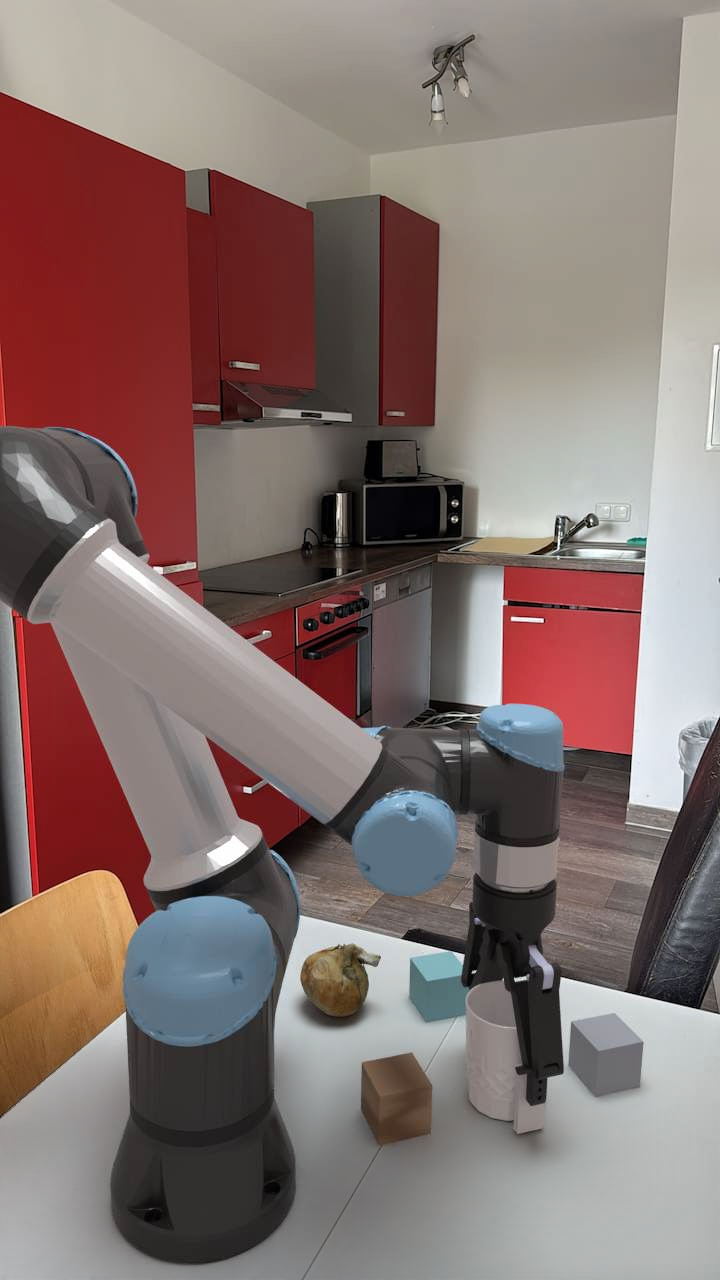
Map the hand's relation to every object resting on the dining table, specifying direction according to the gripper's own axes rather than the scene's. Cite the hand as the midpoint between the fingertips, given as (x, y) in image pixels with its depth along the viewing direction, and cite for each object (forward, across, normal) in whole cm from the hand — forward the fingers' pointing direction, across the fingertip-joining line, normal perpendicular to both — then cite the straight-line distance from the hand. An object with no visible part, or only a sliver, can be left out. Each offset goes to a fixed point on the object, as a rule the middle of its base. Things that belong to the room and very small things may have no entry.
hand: (505, 1094), depth 91 cm
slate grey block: (0, 0, -11) cm, 11 cm away
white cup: (+1, 0, 0) cm, 1 cm away
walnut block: (0, 0, +11) cm, 11 cm away
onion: (0, +19, +11) cm, 22 cm away
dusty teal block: (0, +16, 0) cm, 16 cm away
